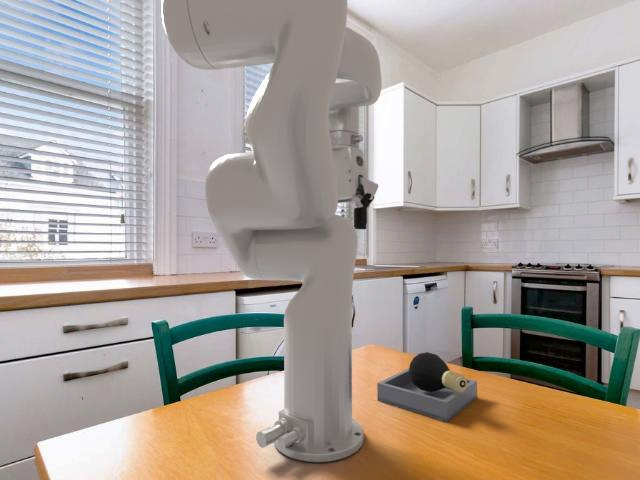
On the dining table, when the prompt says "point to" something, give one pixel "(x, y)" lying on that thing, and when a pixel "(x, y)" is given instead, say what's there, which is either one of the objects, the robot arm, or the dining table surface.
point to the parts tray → (425, 397)
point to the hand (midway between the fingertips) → (340, 230)
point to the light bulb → (434, 374)
